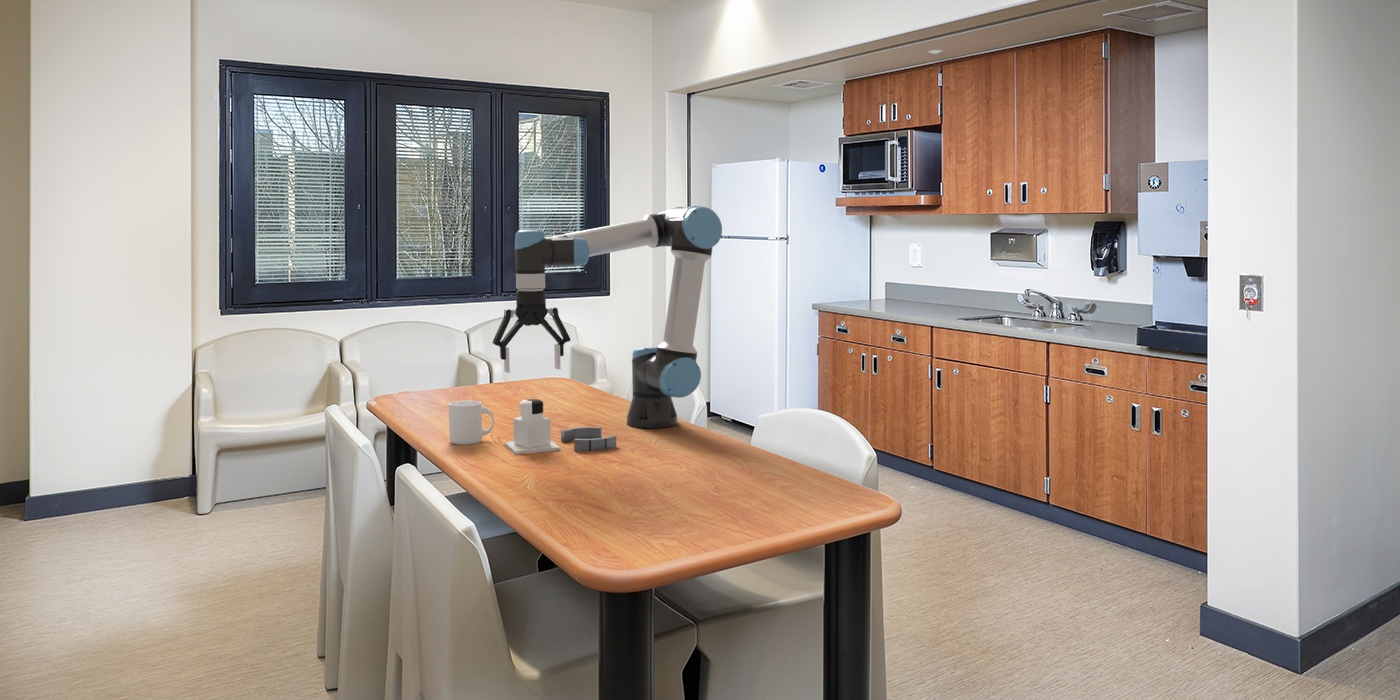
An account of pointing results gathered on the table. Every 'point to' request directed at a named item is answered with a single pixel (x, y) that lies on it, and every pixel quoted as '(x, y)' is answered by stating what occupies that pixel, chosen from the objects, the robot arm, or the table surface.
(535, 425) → the medicine bottle
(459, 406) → the mug
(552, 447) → the tile
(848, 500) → the table surface
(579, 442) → the cradle
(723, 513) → the table surface
